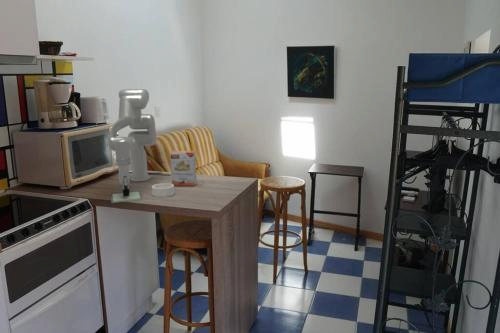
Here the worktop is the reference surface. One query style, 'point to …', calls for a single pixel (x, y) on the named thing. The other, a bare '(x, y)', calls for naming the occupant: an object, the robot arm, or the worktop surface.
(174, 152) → the cracker box
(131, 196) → the cover board
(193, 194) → the worktop surface
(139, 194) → the mat
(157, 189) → the bowl
